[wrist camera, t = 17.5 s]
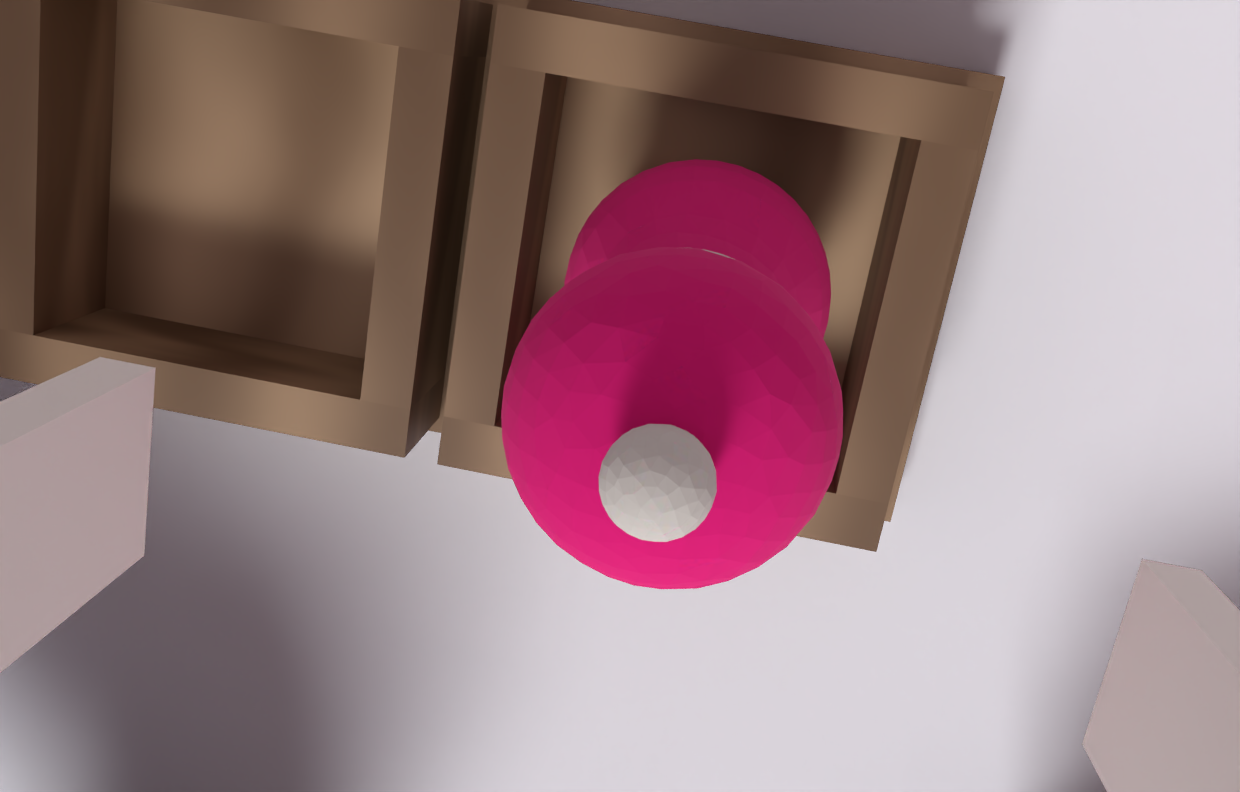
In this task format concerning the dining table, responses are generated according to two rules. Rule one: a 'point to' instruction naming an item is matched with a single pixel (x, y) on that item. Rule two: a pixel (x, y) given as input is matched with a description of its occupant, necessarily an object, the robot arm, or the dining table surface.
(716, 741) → the dining table surface
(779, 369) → the pepper mill
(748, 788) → the dining table surface
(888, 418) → the wooden divided tray
